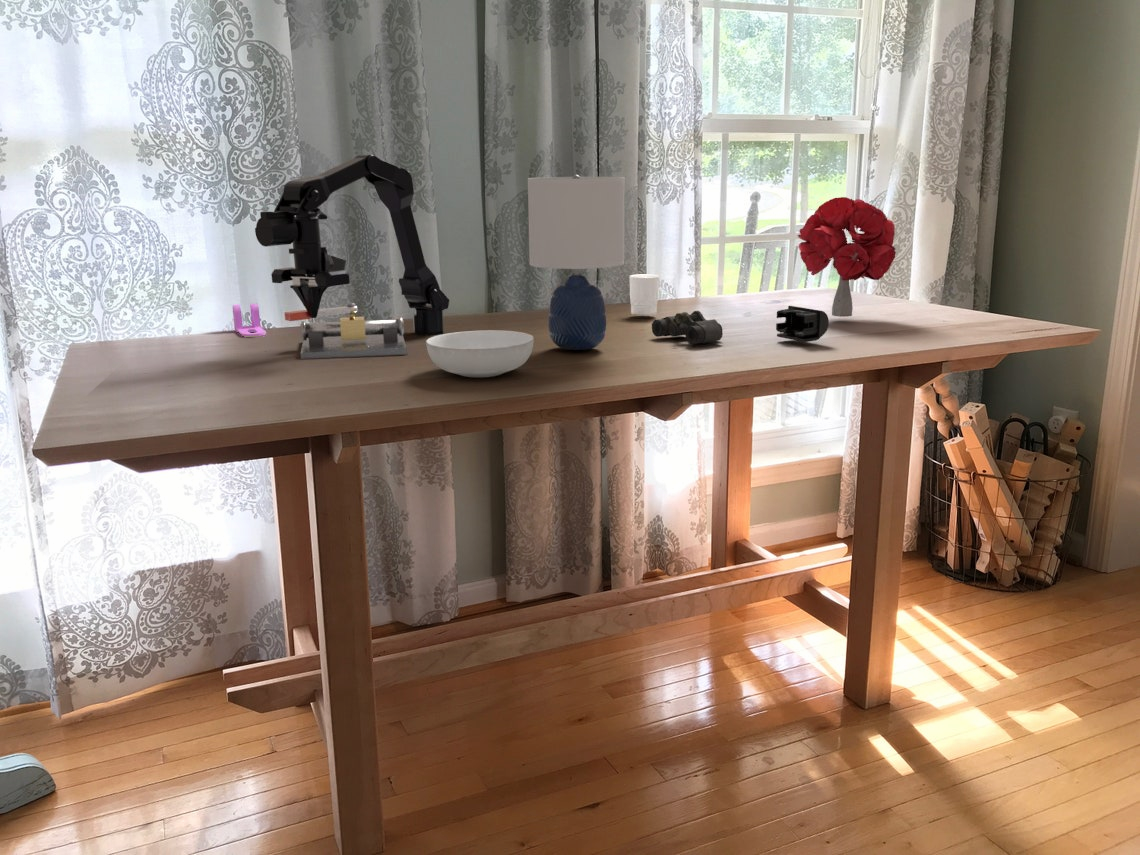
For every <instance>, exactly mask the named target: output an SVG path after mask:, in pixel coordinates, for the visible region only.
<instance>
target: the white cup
mask: <svg viewBox="0 0 1140 855" xmlns="http://www.w3.org/2000/svg"><path fill="white" fill-rule="evenodd" d="M659 282H660V275H658V274H650V273H647V274H646V273H645V274H644V273H641V274H632V275H631V274H630V275H629V298H630V313H631V314H632V315H634V314H637V315H636V316H652V314H654V315H656V314H657V313H658V312H657V309H658V305H657V304H658V300H659V287H660V286H659V284H660V283H659Z"/></svg>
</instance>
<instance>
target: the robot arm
mask: <svg viewBox="0 0 1140 855" xmlns="http://www.w3.org/2000/svg"><path fill="white" fill-rule="evenodd" d="M361 179H364V180H365V182H367V183H369V184H370V185H372V186H373V187H374V189H375V191H376V193H377V194H376V195H377V196H378V198H379V200H380V201H381V203H383V205H384V206H385V207H386V208H387V209H388V211H389V214H390V217H391V222H392V226H393V228H394V232H395V237H396V240H397V244H398V248H399V252H400V255H401V260H402V263H403V266H404V272H403V276H402V277H400V278H399V279H398V284H399V286H400V289H401V295H402V296H404V298H405V300H406V302H407V304H408V307H409V308H410V309H414V310H415V313H414V314H412V319H413V320H412V321H413V331H414V334H416V333H417V334H416V335H418V336H417V337H419V336H420V337H421V336H438V335H442V334H446V333H445V331H444V319H443V318H444V317H443V313H444V312H443V311H445V310H448V309H449V304H450V299H449V297H448V296H446V294H445V293H444V291H442V289H441V288H440V285H439V282H438V279H437V277H436V275H435V274H434V273H433V272H432V270H431V269H430V267H428V265H427V264H426V260H425V256H424V253H423V252H424V251H423V250H422V249H423V248H422V245H421V241H420V237H419V233H418V230H417V226H416V221H415V218H414V214H413V210H412V201H413V198H414V194H415V192H414V184H413V177H412V174H411V172H410V171H408V170H407V169H406V168H403V167H398V166H396V165H395V164H392V163H389V162H387V161H384V160H382V159H381V158H379V157H378V156H376V155H374V154H357V155H356V156H354V157H353V158H351V159H349V160H348V161H345V162H343V163H341V164H339V165H337V166H334V167H333V168H330V169H328V170H326V171H325V172H322V173H320V174H318V175H313V176H308V177H303V178H296V179H293V180H289V181H287V182H285V184H284V185H283V191H282V195H281V196H280V197H279V201H278V203H277V205H276V206H275V208H274V211H260V213H259V214H260V218H259V219H258V220H257V222H256V226H255V228H254V232H255V236H256V240H257V242H258V243H259V244H260V245H261V246H262V247H264V248H265V247H267V248H268V247H275V246H286V245H287V246H288V245H291V244H292V247H291V248H288V254H290V255H291V254H293V260H294V262H293V263H294V267H292V266H291V267H283V268H274V269H273V270H272V272H271V283H272V284H273V283H274V284H282V283H283V282H289V281H292V285H289V287H290V289H292V290H293V291H294V293H295V294H296V296H297V297H298V298H299V300H300V301H301V303H302V305H303V307H304V308H305V310H307V311H308V313H309V315H310V316H311V318H312V319H316V318H317V314H318V310H319V309H320V305H321V302H322V301H321V300H322V297H323V294H324V293H325V291H326V290H327V289H328V288H331V287H334V286H335V287H336V286H343V285H350V284H351V280H350V279H351V278H350V273H348V271H347V270H346V265H347V260H345V259H342V258H339V257H337V256H335V255H334V256H333V255H330V254H329V253H328V249H327V247H326V246H322V240H321V228H320V221H321V220H327V219H328V215H327V214H326V213H324V212H323V211H321V209H320V207H321V206H322V205H323V204H324V203H326V202H327V201H328V200H329V198H330V196H331V195H332V194H333V193H335V192H337V191H338V190H341V189H342V188H345V187H347V186H348V185H351V184H353V183H355V182H356V181H359V180H361Z"/></svg>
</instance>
